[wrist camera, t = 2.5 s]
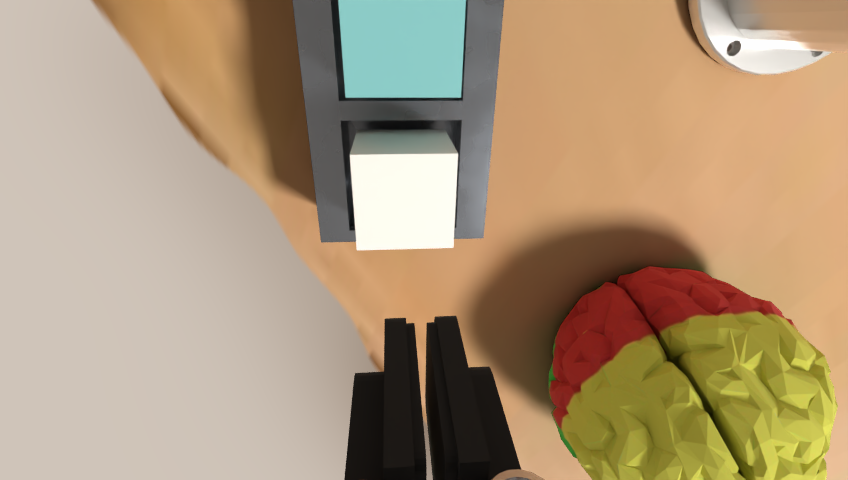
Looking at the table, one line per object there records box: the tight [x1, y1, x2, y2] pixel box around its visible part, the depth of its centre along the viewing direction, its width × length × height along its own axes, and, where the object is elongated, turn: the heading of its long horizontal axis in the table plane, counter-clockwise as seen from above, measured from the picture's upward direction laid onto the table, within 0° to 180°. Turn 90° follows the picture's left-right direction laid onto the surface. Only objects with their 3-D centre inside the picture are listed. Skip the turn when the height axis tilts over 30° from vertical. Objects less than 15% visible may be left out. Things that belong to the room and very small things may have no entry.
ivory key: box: [350, 129, 458, 250], centre depth 22 cm, size 5×5×5 cm
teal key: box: [338, 0, 466, 98], centre depth 19 cm, size 5×5×5 cm
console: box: [293, 0, 504, 242], centre depth 22 cm, size 10×23×5 cm, turn 179°
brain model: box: [548, 266, 838, 480], centre depth 32 cm, size 24×19×15 cm
